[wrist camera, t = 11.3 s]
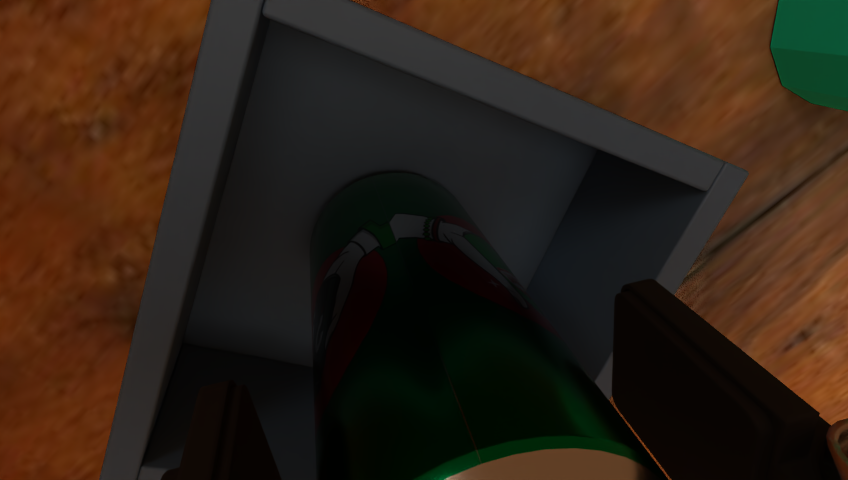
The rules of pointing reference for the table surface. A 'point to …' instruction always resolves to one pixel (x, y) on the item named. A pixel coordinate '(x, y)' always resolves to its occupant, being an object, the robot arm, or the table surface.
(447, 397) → the soda can
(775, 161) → the table surface
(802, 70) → the candle
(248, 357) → the bin
